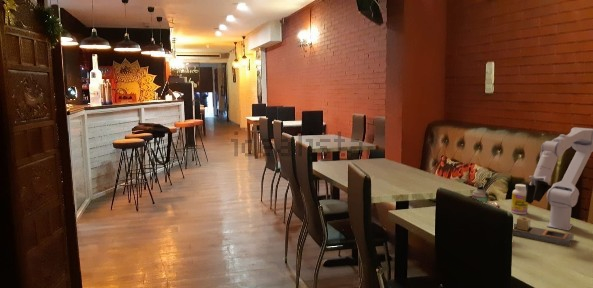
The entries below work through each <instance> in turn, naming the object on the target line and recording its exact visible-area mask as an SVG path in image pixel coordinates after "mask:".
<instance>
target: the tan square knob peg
mask: <svg viewBox="0 0 593 288" xmlns="http://www.w3.org/2000/svg"><path fill="white" fill-rule="evenodd" d="M531 221H532V220H531V218H529V217H524V216H519V217H518V218H517V219H516V224H517V228H516V229H517V230H522V231H528V232H530V227H531Z"/></svg>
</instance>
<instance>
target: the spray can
mask: <svg viewBox="0 0 593 288" xmlns="http://www.w3.org/2000/svg"><path fill="white" fill-rule="evenodd" d="M472 198H474V199H477V200H479V201H482V202H485V203H487V202H489V201H488V199H489V192H488V191H486V190H485V188H484V186H483V185H482V184H481V185H478V186H477V188H476V189H474V190H473V191H472V196H471V199H472Z"/></svg>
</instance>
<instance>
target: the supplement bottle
mask: <svg viewBox="0 0 593 288" xmlns="http://www.w3.org/2000/svg"><path fill="white" fill-rule="evenodd" d="M514 188H515V189H513V190H512V192H511V193H512V194H511V204H510V205H511V208H510V211H511V213H512V214H516V215H526V214H527V213H528V208H529V207H528V206H529V203H528V202H526V184H523V183H516V184H515V186H514Z"/></svg>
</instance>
